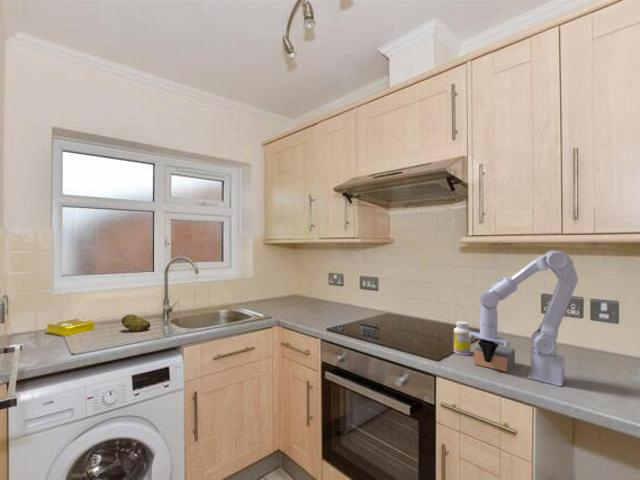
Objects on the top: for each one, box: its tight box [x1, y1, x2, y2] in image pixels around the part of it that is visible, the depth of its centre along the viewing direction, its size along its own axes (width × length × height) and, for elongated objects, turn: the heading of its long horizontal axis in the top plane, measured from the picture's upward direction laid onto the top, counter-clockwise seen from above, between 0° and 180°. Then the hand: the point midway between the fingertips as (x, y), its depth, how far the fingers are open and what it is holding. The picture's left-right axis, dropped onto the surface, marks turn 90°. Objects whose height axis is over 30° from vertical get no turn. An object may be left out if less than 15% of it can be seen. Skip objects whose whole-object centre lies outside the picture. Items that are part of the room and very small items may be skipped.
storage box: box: [474, 345, 516, 373], centre depth 126 cm, size 11×10×6 cm
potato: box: [120, 314, 151, 332], centre depth 168 cm, size 8×13×8 cm, turn 79°
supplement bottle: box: [453, 320, 472, 356], centre depth 139 cm, size 7×7×13 cm
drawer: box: [473, 350, 508, 373], centre depth 125 cm, size 11×10×5 cm
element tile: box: [46, 318, 95, 337], centre depth 166 cm, size 15×15×5 cm
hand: (488, 361), depth 120 cm, fingers closed, pressing on drawer
